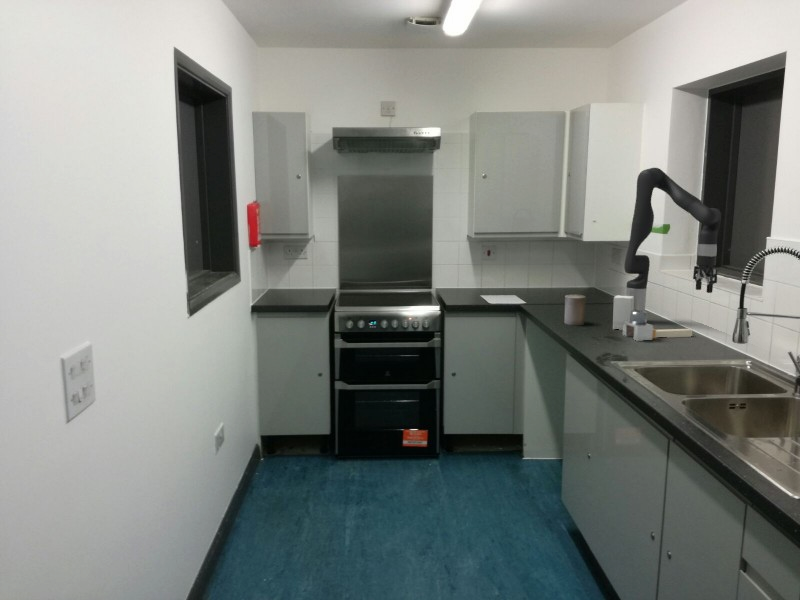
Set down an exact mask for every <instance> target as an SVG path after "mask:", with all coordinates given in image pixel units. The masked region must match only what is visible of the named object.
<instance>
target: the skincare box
mask: <svg viewBox="0 0 800 600" xmlns="http://www.w3.org/2000/svg"><path fill="white" fill-rule="evenodd" d="M632 310H634V296H626V295H620V294H619V295H615V296H614V297H613V310H612V311H613V313H612V330H614V329H619V330H618V331H623V320H630V311H632Z"/></svg>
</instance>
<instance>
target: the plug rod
mask: <svg viewBox="0 0 800 600" xmlns="http://www.w3.org/2000/svg"><path fill="white" fill-rule="evenodd" d="M691 336H692V337H693V329H691V328H676V329H674V328H671V329H670V328H669V329H668V328H667V329H655V328H653V334H652V339H656V338H655V337H667V339H668V338H689V337H690V338H691Z"/></svg>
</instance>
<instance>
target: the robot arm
mask: <svg viewBox="0 0 800 600" xmlns="http://www.w3.org/2000/svg"><path fill="white" fill-rule="evenodd" d="M655 188H656V189H659V190H661V191H663V192H664V193H665V194H667V195H668V196H669V197H670V198H671V200H672V201H673V203H674V204H675V205H677V206H678V207H679V208H681V209H682V210H684V211H685V212H686V213H688V214H690V215H691V216H692V217H693V219H695V220H696V221H698V222H699V223H700V224H702V230H701V231H700V232H699V235H698V245H697V249H696V250H697V251H696V265H695V266H693V267H694V268H693V275H692V276H693V277H692V280H694V281H695V290H696V291H700V290H702V282H703V279H704V280H705V281H706V283H707V285H706V293H707V294H711V293H713V289H714V285H715V284H717V283H718V269H715V268H713V267H714V266H716V263H717V254H718V253H717V252H718V250H717V249H718V246H717V243H718V232H719V230H720V226H721V221H722V213H721V211H720V210H719V209H718V208H717V207H716V208H715V207H709V206H706V205H705V204H704V203H702V202H703V201H702V200H700V199H699V198H698V197H696V196H695V195H693V194H691V193H690V192H689V191H687V190H686V189H684V188H683V187H681V186H680V185H679V184H678V183H677V182H675V181H674V180H673V179H672V178H671V177H670V176H668V174H667V173H665V172H664V171H663V170H662V169H661V168H658V167H650V168H646V169H644V170H642V171H640V173H639V174H638V176H637V180H636V195H635V196H636V197H635V204H634V210H633V217H632V221H631V226H630V227H631V229H630V235H629V236H630V237H629V241H628V242H629V243H628V246H627V250H626V255H625V259H624V265H623V266H624V267H623V268H624V272H625V274H628V275H637V277H635V278H633V279H630V280H628V281H627V282H626V286H625V287H626V288H625V289H626V290H625V296H634V310H641V311H646V299H647V285H648V282H649V281H648V280H649V271H650V263H651V262H650V257H649V256H648V255H646V254H637V252H638V250H639V248H640V246H641V245H642V243H643V242H644V241H645V240H646V239H647V238H648V237H649V236H650V234H651V232H652V230H653V228H654V227H653V226H654V221H655V220H654V219H655V213H654V209H653V207H652V198H653V197H652V196H653V191H654V189H655Z"/></svg>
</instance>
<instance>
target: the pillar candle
mask: <svg viewBox="0 0 800 600" xmlns="http://www.w3.org/2000/svg"><path fill="white" fill-rule="evenodd" d="M586 300H587V298H586V295H583V294H567V295H565V296H564V320H563V321H564V322H563V323H564V324H565V325H567V326H574V327H575V326H584V325H585V324H584V323H585V322H586V321H585V320H586Z"/></svg>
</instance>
